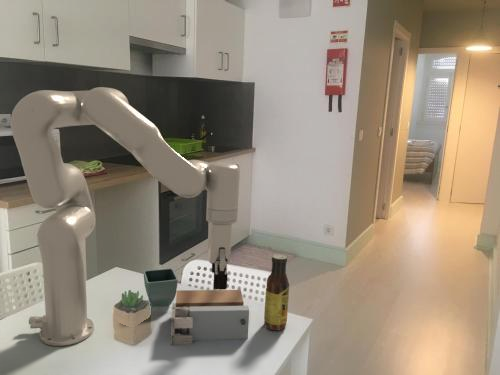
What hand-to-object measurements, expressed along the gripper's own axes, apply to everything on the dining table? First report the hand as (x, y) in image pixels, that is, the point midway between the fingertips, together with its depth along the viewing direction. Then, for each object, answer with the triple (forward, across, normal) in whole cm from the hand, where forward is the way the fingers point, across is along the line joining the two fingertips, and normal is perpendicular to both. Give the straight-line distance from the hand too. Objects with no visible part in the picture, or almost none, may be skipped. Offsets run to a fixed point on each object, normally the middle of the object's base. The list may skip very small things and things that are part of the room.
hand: (218, 280), depth 104 cm
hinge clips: (+16, -1, -9) cm, 18 cm away
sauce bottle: (+16, -5, +16) cm, 23 cm away
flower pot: (+16, -19, -16) cm, 29 cm away
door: (+16, 0, -1) cm, 16 cm away
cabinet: (+16, -9, -2) cm, 18 cm away
